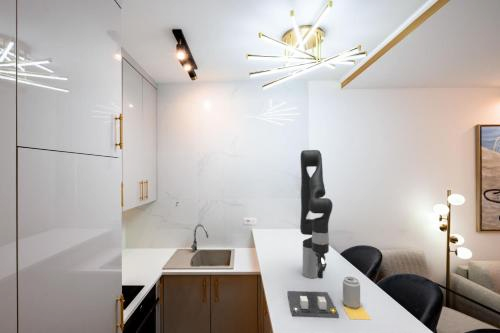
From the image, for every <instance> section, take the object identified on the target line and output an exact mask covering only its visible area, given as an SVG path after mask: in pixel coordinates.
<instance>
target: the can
mask: <svg viewBox="0 0 500 333" xmlns="http://www.w3.org/2000/svg"><path fill="white" fill-rule="evenodd" d="M342 302H343V304H344V305H345V306H347V307H350V308H358V307H361V283H360V281H359V279H358V278H356V277H354V276H345V277H344V278H343V280H342Z"/></svg>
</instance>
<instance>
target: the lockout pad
mask: <svg viewBox="0 0 500 333" xmlns="http://www.w3.org/2000/svg"><path fill="white" fill-rule="evenodd" d="M342 307H343V310H344V311H345V313H346V314H347V317H348V318H349V319H350V320H367V321H369V320H370V321H372V317H370V315H369V314H368V312H367V311H366V309H365V308H364V307H363V306H359V307H358V308H350V307H347V306H346V305H345V306H342Z"/></svg>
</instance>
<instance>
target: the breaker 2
mask: <svg viewBox="0 0 500 333" xmlns="http://www.w3.org/2000/svg"><path fill="white" fill-rule="evenodd" d="M318 307H319V309H322V310H327V302H326V300H325V297H318Z"/></svg>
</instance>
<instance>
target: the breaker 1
mask: <svg viewBox="0 0 500 333" xmlns="http://www.w3.org/2000/svg"><path fill="white" fill-rule="evenodd" d="M300 306H301V309H308V299H307V296H300Z"/></svg>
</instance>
